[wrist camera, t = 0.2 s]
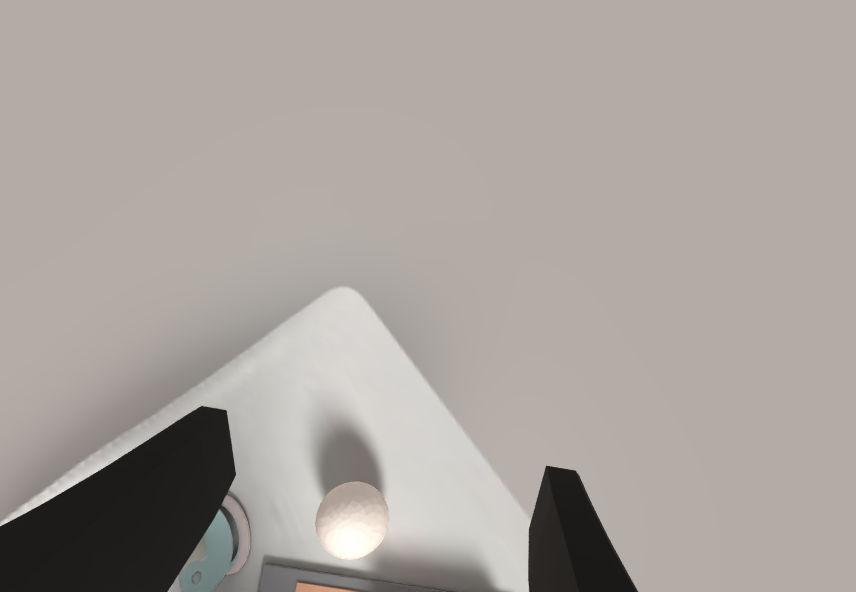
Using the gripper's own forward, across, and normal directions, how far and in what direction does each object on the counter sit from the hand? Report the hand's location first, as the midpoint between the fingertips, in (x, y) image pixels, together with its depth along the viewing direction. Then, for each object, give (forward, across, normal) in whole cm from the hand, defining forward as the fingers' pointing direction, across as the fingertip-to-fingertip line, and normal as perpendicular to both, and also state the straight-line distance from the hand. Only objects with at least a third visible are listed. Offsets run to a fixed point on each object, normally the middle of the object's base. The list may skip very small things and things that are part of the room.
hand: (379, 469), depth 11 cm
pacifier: (+16, +17, +29) cm, 37 cm away
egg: (+18, +5, +26) cm, 32 cm away
